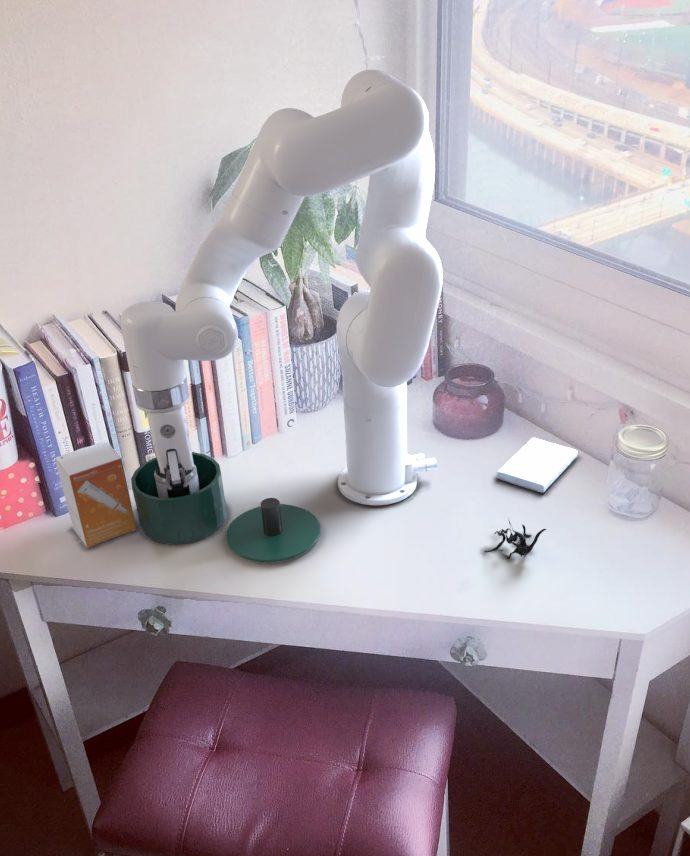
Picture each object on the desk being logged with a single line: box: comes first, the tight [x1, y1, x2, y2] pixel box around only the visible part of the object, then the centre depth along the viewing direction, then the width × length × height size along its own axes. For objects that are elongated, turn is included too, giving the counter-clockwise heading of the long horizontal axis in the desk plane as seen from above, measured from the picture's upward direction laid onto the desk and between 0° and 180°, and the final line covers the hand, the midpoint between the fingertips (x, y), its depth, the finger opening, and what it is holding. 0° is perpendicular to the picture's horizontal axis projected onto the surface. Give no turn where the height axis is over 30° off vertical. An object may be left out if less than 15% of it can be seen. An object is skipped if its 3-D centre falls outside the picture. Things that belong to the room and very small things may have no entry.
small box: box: [54, 440, 137, 549], centre depth 134 cm, size 8×6×13 cm
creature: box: [484, 518, 547, 560], centre depth 128 cm, size 8×5×8 cm
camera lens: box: [154, 464, 200, 498], centre depth 136 cm, size 6×6×8 cm
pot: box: [130, 451, 228, 545], centre depth 137 cm, size 13×13×8 cm
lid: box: [225, 497, 321, 564], centre depth 133 cm, size 14×14×6 cm
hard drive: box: [496, 437, 578, 494], centre depth 146 cm, size 2×8×12 cm
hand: (179, 495), depth 137 cm, fingers closed on camera lens, 6 cm apart
